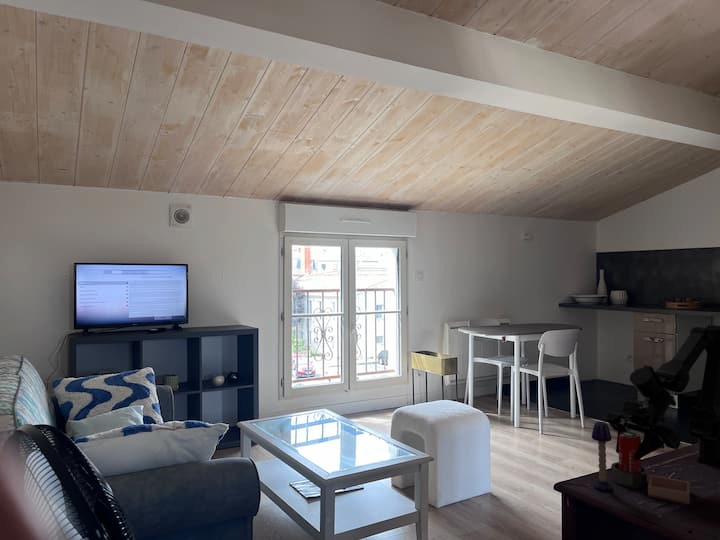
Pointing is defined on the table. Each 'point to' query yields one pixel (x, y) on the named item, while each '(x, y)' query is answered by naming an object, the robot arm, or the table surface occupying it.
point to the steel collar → (629, 477)
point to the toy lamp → (602, 454)
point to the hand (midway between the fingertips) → (626, 455)
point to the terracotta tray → (669, 489)
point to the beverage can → (629, 452)
